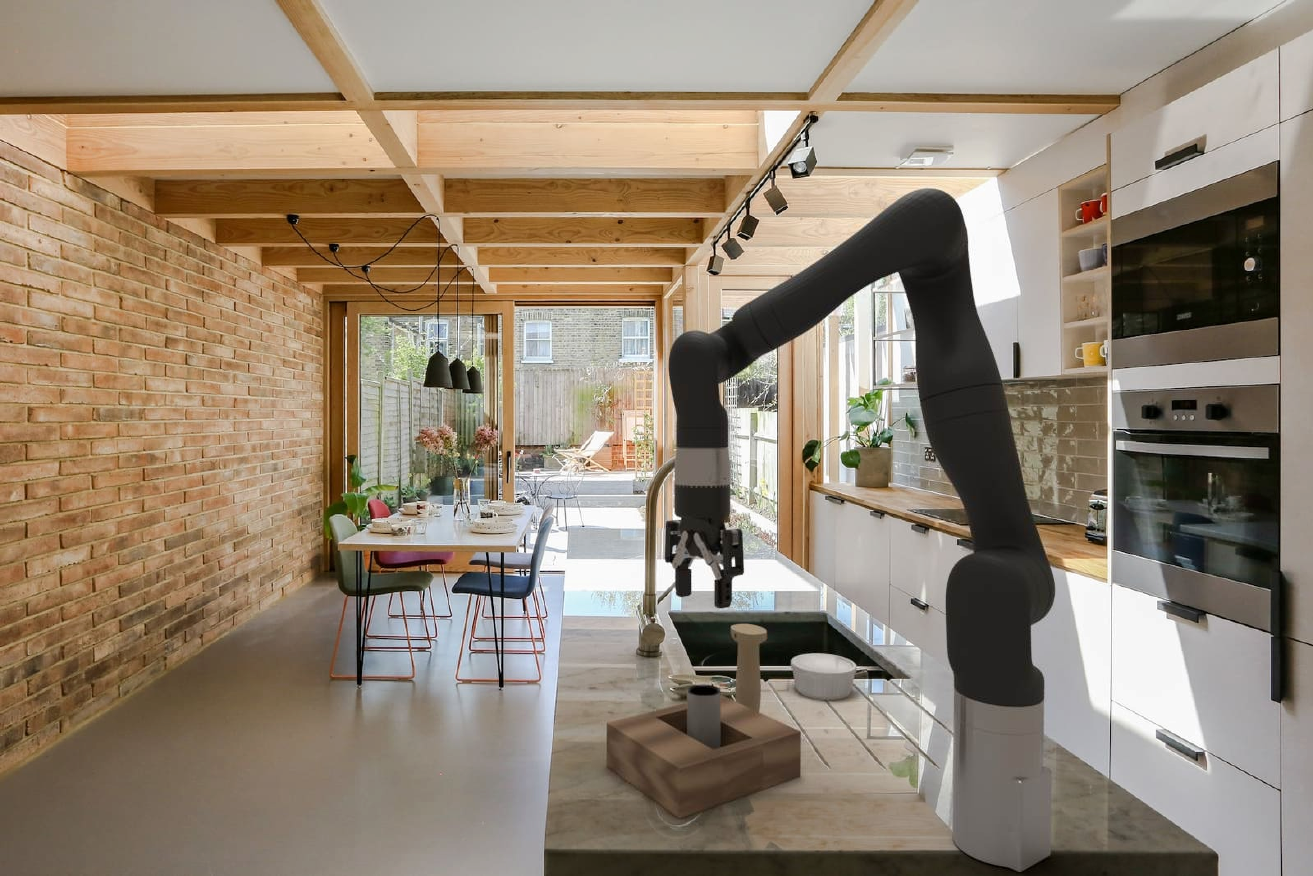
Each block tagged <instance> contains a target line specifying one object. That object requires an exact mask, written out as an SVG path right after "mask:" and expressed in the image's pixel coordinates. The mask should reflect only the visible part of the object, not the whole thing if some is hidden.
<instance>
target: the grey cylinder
mask: <svg viewBox="0 0 1313 876" xmlns="http://www.w3.org/2000/svg"><path fill="white" fill-rule="evenodd" d="M721 695H722V692H721V689H720V687H717V686H714V685H712V684H695V685H694V684H693V685H691V686H689V687H688V688H687V690H686V703H687V735H688V736H690V737H692V738H693V739H695V740H697V741H699V742H701V743H702V744H704V745H706V746H708V747H709V748H711V749H713V750H714V749H717V748H720V743H721Z"/></svg>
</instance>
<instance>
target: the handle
mask: <svg viewBox="0 0 1313 876" xmlns="http://www.w3.org/2000/svg"><path fill="white" fill-rule="evenodd" d="M730 635H731V638H732V640H733V641H735V642H736V643H737V660H736V661H737V663H736V677H735V701H736V702H738V703H740V704H742V705H744V706H746V707H749V708H751V709H753V710H755V711H757V712H759V713H760V709H761V708H760V707H761V696H762V695H761V694H762V692H761V691H762V688H761V686H762V685H761V684H762V683H761V667H760V644H762V643H764V642H766V641H767V639H768V631H767V629H766V628H764V627H762V626H759V625H756V624H750V623H736V624H732V625H730Z"/></svg>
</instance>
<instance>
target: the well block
mask: <svg viewBox="0 0 1313 876" xmlns="http://www.w3.org/2000/svg"><path fill="white" fill-rule="evenodd" d="M801 733H802V731H801V730H798V729H796V728H794V727H792V726H789V725H788V724H785V723H782V722H780V721H779V720H776V719H775V718H772V717H770V716H768V715H766V714H764V713H761V712H760V711H759V712H757V711H755V710H753V709H751V708H749V707H746V706H744V705H742V704H740V703H738V702H736V700H734V699H731V698H730V697H727V696H725V695H723V694H721V743H720V748H717V749H714V750H713V749H711V748H709V747H708V746H706V745H704V744H702V743H701V742H699V741H697V740H695V739H693V738H692V737H690V736H688V735H687V702H685V703H684V702H683V703H682V704H677V705H673V706H669V707H664V708H662V709H661V708H660V709H656V710H652V711H649V712H645V713H644V712H643V713H640V714H637V715H633V716H628V717H625V718H620V719H617V720H616V719H615V720H613V721H609V722H606V767H607V768H608V769H610V770H611V771H612V772H614V773H615V774H617V775H618V776H619V777H621V778H622V779H624V780H625V781H627V782H628V783H630V785H632V786H633V787H635V788H636V789H637V790H639V791H641V792H642V793H643V794H645V796H646V797H649V798H650V799H652V801H654V802H656V803H657V804H658V805H659V806H661V807H662V808H664V809H665V810H667V811H668V812H669V813H671V814H672V815H674V816H675V817H676V818H678V819H682V818H685V817H688V816H692V815H694V814H696V813H699V812H702V811H707V810H708V809H711V808H713V807H717V806H719V805H722V804H725V803H728V802H730V801H734V800H737V799H739V798H743V797H745V796H748V795H751V794H754V793H756V792H759V791H762V790H764V789H767V788H771V787H774V786H776V785H779V784H783V783H784V782H788V781H791V780H793V779H796V778H799V777H801V774H802V773H801V770H802V769H801V767H802V766H801V761H802V760H801V753H802V752H801V751H802V750H801V749H802V747H801V746H802V745H801V744H802V742H801V741H802V739H801V738H802V734H801Z"/></svg>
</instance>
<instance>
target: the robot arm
mask: <svg viewBox="0 0 1313 876" xmlns="http://www.w3.org/2000/svg"><path fill="white" fill-rule="evenodd" d="M970 263H971V262H970V253H969V236H968V228H967V226H966V222H965V218H964V214H963V211H962V209H961V207H960V205H959V203H958V202H957V201H956V199H955V197H953V196H952V195H950V194H949V193H948V192H945V191H944V190H941V189H937V188H927V187H925V188H920V189H916V190H913V191H911V192H908V193H906V194H904V195H902V197H899V198H898V199H897V200H896V201H894V202H892V204H890V205H889V206H887V207H886V208H885V209H883V211H881V212H879V214H877V216H875V217H874V218H872V219H871V220H870V221H869V222H868V223H866V224H865V225H864V226H863V227H862V228H860V230H858V231H856V232H855V233H854V234H853V235H852V236H850V237H848V238H847V239H846V240H845V241H843V242H842V243H840V244H839V245H838V246H836V247H835V248H834V249H832V250H831V251H830V252H828V253H826V254H825V255H823V256H822V257H821V258H820V259H818V260H816V261H815V262H814V263H812V264H810V266H808V267H806V268H805V269H803V270H802V271H799V272H798V273H796V274H795V275H793V276H792V277H790V278H788V279H787V280H785V281H783V282H781V283H780V284H778V285H776V286H775V287H773V288H771V289H770V290H767V291H766V292H764V293H762V294H760V295H758V296H757V297H755V298H754V299H752V300H751V301H748V302H747V303H745V304H743V305H742V306H740V307H739V308H738V309H737V310H736V311H735V312H734V313H733V315H732V318H731V320H730V321H729V322H727V323H726V324H724V325H723V326H721V327H719V328H718V329H716V330H714V331H712V332H710V333H708V332H705V331H701V330H689V331H685V332H683V333H682V334H681V335H679V336H678V337H677V338H676V339H675V340H674V341H673V344H672V345H671V348H670V350H669V355H668V356H669V357H668V364H667V365H668V367H667V368H668V379H669V384H670V389H671V395H672V401H673V405H674V409H675V413H676V421H675V422H676V425H675V427H676V429H675V431H676V435H675V436H676V439H675V441H676V445H675V447H676V449H675V458H674V485H673V486H674V489H673V490H674V496H673V497H674V515H675V516H676V517H677V518H680V519H672V520H667V521H665V536H664V537H665V540H664V541H665V543H664V561H665V563H668V564H669V563H670V564H671V566H672V568H673V570H675V573H674V574H675V575H674V577H675V578H674V579H675V580H674V581H675V582H674V588H675V595H676V596H677V597H680V598H684V597H689V596H691V595H692V568H690V567H691V566H692V563H693V562H694V561H695V559H696V558H699V559H703V560H704V562H705V564H706V565H707V566H709V567H710V569H711V571H712V572H713V576H714V578H715V579H714V581H713V582H714V584H713V585H714V590H713V591H714V593H713V594H714V599H713V601H714V603H713V604H714V607H715V608H717V609H726V608H729V607H730V606H731V605H732V602H733V579H734V578H735V577H739V576H743V575H744V573H745V563H744V562H745V561H744V559H745V558H744V539H743V538H744V537H743V534H744V533H743V530H742V529H741V528H732V529H727V527H726V522H725V521H726V518H728V517H729V516H730V515H731V461H730V452H729V416H728V411H727V410H726V407H724V405H722V403H721V396H720V384H723V383H725V382H727V381H729V380H730V379H732V378H734V377H735V376H736V375H738V374H740V373H741V372H742V371H744V370H745V369H747V368H748V367H749V366H750V365H752V364H754V363H755V362H756V361H757V360H758V359H760V358H761V357H762V356H764V355H766V354H768V353H771V352H773V351H774V350H776V349H778V348H780V347H783V346H784V345H785V344H788V343H789V342H791V341H793V340H795V339H796V338H799V337H801V336H802V335H804V334H806V333H807V332H809V331H810V330H811V329H813V328H814V327H816V326H818V324H820V323H821V322H822V321H823V320H825V319H826V318H827V317H828V316H829V315H831V314H832V312H834V311H835V310H836V309H837V308H839V307H840V306H841V305H842V304H844V303H845V302H846V301H847V300H848V299H850V298H851V297H853V296H854V295H855V294H858V292H861V290H863V289H865V288H866V287H868V286H870V285H871V284H873V283H875V282H878V281H881V279H884V278H886V277H889V276H891V275H893V274H896V273H898V275H899V278H900V281H901V283H902V287H903V289H904V292H905V294H906V300H907V303H908V307H909V308H910V313H911V317H912V320H913V327H914V337H915V338H914V339H915V356H914V357H915V373H916V375H915V376H916V384H917V386H916V388H917V393H918V398H919V400H918V401H919V405H920V410H921V415H922V420H923V424H924V429H925V432H926V435H927V439H928V443H929V445H930V447H931V450H932V452H933V454H934V456H935V458H936V460H937V461H938V464H939V465H940V467H941V468H942V470H943V472H944V473H945V475H946V477H947V478H948V480H949V481H950V483H951V485H952V487H953V488H954V490H955V492H956V493H957V495H958V497H959V499H960V501H961V503H962V505H963V509H964V511H965V514H966V518H967V522H968V527H969V530H970V538H971V543H972V550H973V553H970V554H969V553H968V554H967V555H964V556H963V557H962V558H960V559H959V560H958V561H957V562H956V563H954V566H953V567H952V568H951V570H950V572H949V575H948V578H947V582H946V589H945V630H946V632H945V635H946V654H947V660H948V664H949V666H950V668H951V671H952V674H953V727H952V728H953V729H952V730H953V731H952V732H953V733H952V735H953V738H952V739H953V740H952V741H953V742H952V743H953V744H952V747H953V748H952V814H951V816H952V818H951V819H952V822H951V823H952V825H951V826H952V830H951V832H952V834H951V836H952V840H953V843H954V844H955V846H957V847H958V849H960V850H961V851H962V852H964V853H965V854H966V855H968V856H970V857H972V858H974V859H976V860H979V861H981V862H983V863H987V864H991V865H994V866H999V867H1006V868H1009V869H1012V870H1014V871H1015V872H1019V873H1022V872H1023V871H1025V870H1026V869H1028V868H1029V869H1030V867H1032V866H1034V865H1035V864H1037V863H1039V862H1041V861H1042V860H1044V859H1046V858H1048V857H1050V856H1051V851H1052V849H1051V846H1052V843H1051V842H1052V840H1051V839H1052V837H1051V836H1052V786H1053V785H1052V782H1053V781H1052V780H1053V779H1052V778H1053V776H1052V774H1053V772H1052V769H1051V768H1050V767H1048V766H1047V767H1046V766H1045V765H1044V748H1045V747H1044V742H1045V741H1044V740H1045V739H1044V734H1045V729H1044V728H1045V726H1044V725H1045V677H1044V675H1043V674H1044V673H1042V671H1041V670H1040V669H1039V668H1038V667H1036V666H1035V665H1034V663H1033V658H1032V657H1033V656H1032V655H1033V654H1032V626H1033V625H1036V624H1037V623H1038V622H1041V620H1043V619H1044V618H1045V617H1046V616H1047V615H1048V614H1049V613H1050V612H1051V609H1052V607H1053V605H1054V601H1055V597H1056V584H1055V583H1056V582H1055V578H1054V574H1053V570H1052V567H1051V564H1050V561H1049V559H1048V556H1047V552H1046V550H1045V547H1044V544H1043V542H1042V539H1041V536H1040V534H1039V530H1038V528H1037V524H1036V522H1035V519H1034V516H1033V513H1032V510H1031V507H1030V506H1031V505H1030V503H1029V499H1028V496H1027V492H1026V486H1025V482H1024V477H1023V476H1024V475H1023V471H1022V466H1021V463H1020V462H1021V461H1020V458H1019V452H1018V448H1017V444H1016V439H1015V436H1014V431H1013V425H1012V421H1011V415H1010V411H1009V406H1008V401H1007V398H1006V393H1005V389H1004V386H1003V384H1004V383H1003V381H1002V377H1001V374H1000V370H999V367H998V364H997V360H996V357H995V354H994V352H993V349H992V347H991V344H990V341H989V339H988V336H987V334H986V331H985V329H984V326H983V324H982V321H981V320H980V316H979V314H978V309H977V305H976V300H975V296H974V288H973V279H972V275H971V274H972V273H971V265H970ZM674 546H675V551H674V550H673V548H674ZM673 551H674V552H675V553H673ZM733 558H734V566H733ZM720 565H721V566H722V568H723V569H722V568H721V566H720Z"/></svg>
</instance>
